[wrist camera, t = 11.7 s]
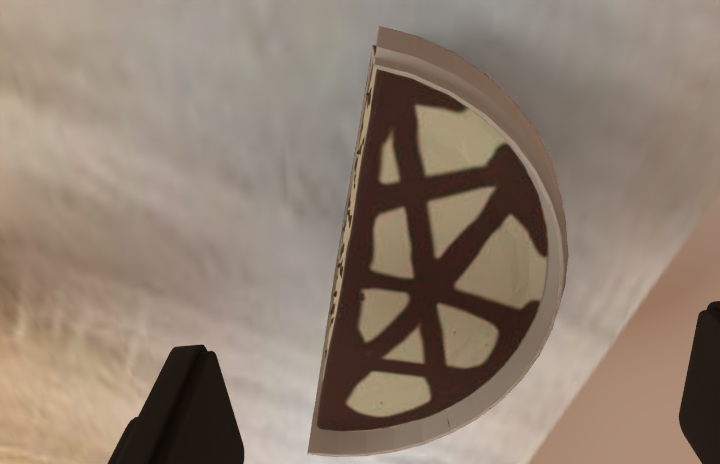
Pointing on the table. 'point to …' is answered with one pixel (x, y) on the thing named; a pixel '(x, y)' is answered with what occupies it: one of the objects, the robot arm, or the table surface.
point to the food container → (436, 256)
